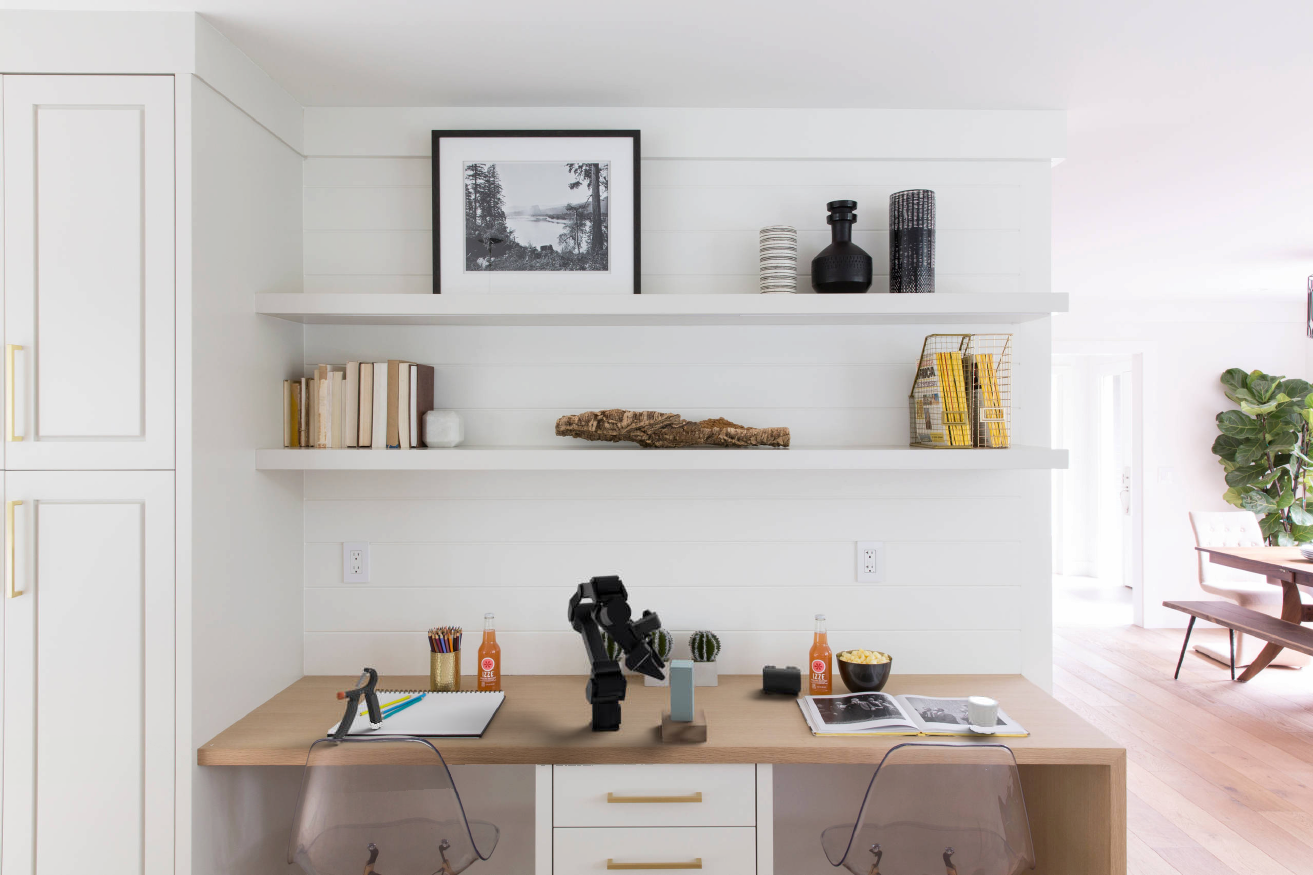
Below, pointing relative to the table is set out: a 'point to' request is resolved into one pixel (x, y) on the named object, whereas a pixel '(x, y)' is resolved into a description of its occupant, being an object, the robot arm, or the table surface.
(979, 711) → the white cylinder
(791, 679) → the black rounded block
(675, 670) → the pillar
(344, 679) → the table surface
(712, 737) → the table surface
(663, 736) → the walnut block
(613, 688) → the robot arm
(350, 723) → the hand grip strengthener
